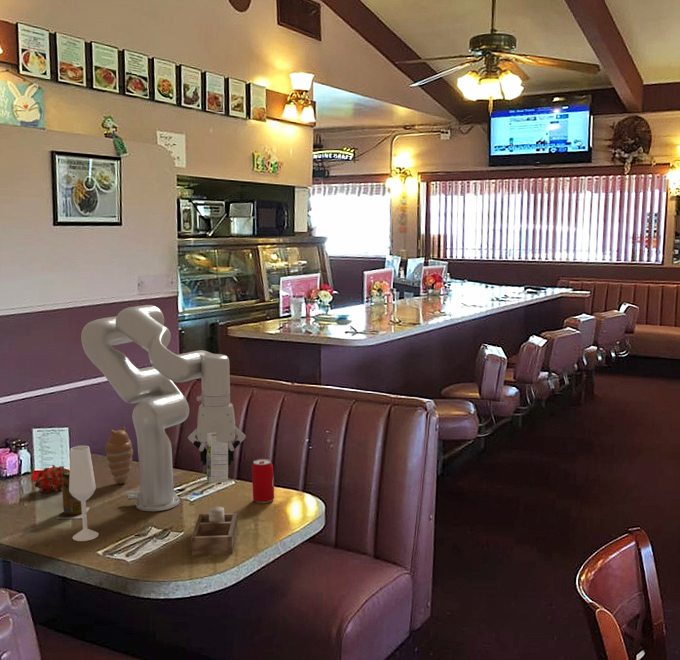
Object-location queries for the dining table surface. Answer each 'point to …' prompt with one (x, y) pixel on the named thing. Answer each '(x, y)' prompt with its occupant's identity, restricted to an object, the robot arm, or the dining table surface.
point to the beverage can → (263, 481)
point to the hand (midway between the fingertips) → (217, 463)
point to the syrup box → (216, 459)
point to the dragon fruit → (50, 479)
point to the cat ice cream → (119, 455)
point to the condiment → (70, 501)
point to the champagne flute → (82, 485)
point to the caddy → (214, 533)
